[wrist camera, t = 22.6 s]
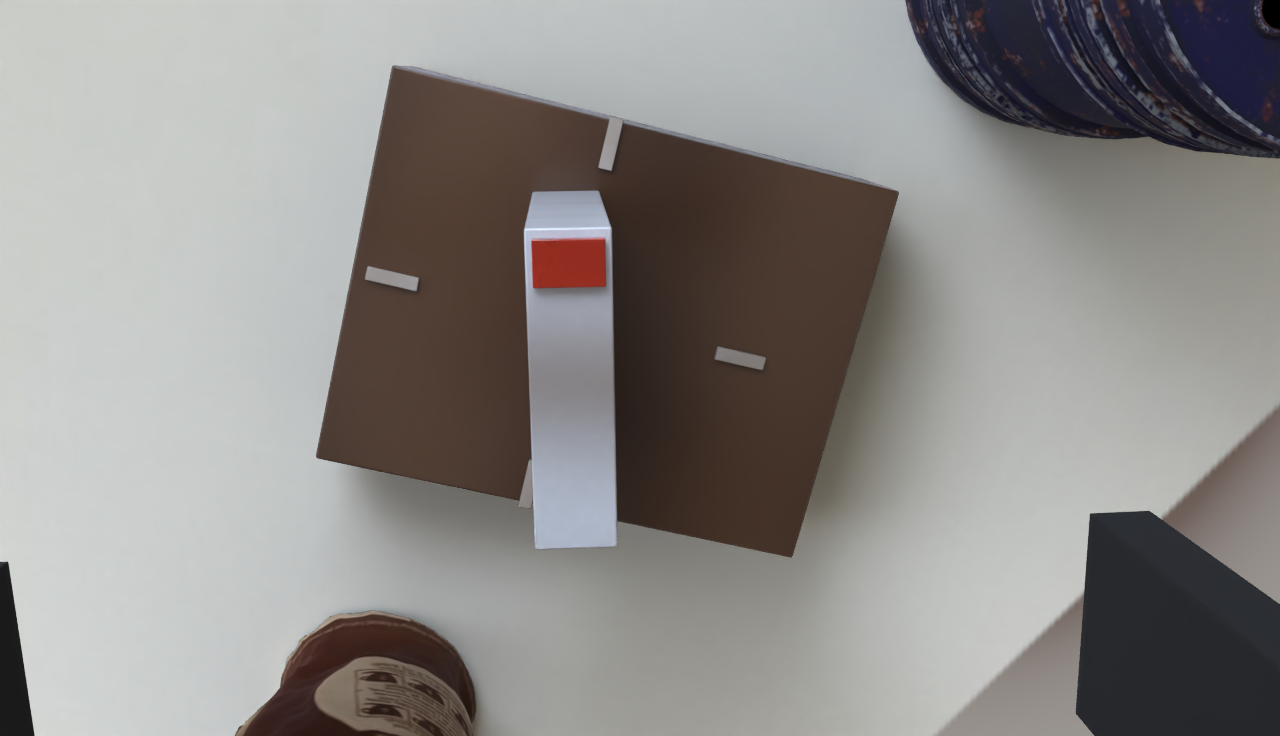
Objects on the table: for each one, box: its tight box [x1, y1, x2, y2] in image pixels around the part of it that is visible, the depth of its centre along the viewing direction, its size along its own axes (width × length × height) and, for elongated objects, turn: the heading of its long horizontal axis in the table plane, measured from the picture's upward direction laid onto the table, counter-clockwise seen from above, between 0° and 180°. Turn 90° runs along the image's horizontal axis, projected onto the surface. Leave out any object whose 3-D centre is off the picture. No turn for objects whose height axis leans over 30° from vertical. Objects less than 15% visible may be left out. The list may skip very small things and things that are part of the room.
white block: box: [524, 191, 618, 550], centre depth 29 cm, size 7×2×8 cm, turn 1°
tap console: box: [316, 66, 899, 557], centre depth 35 cm, size 14×11×4 cm
